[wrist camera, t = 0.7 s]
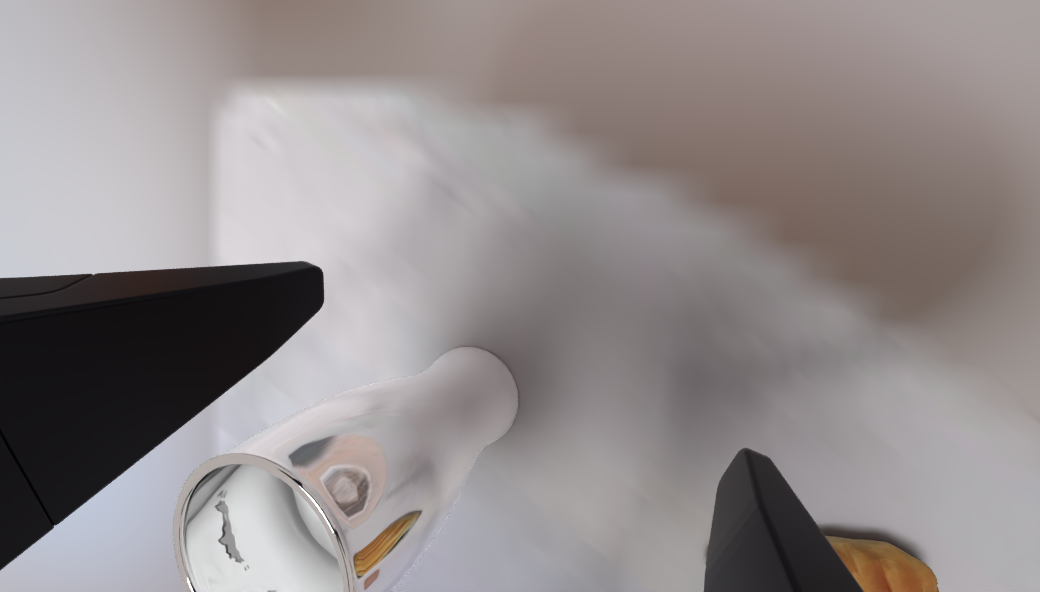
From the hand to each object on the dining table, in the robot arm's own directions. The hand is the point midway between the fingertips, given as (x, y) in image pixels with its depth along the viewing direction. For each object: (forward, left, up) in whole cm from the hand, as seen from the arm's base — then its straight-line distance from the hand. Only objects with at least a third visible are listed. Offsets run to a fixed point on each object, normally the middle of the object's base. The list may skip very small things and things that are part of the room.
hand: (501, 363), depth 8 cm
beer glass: (-10, 0, -16) cm, 19 cm away
